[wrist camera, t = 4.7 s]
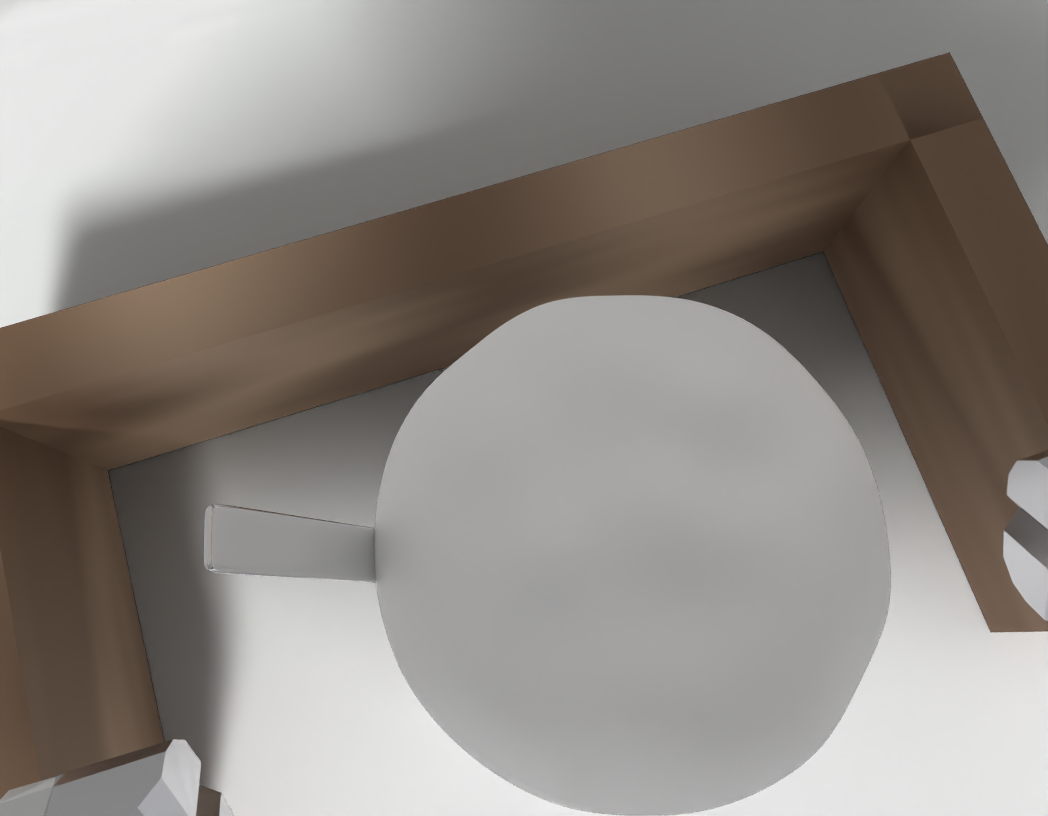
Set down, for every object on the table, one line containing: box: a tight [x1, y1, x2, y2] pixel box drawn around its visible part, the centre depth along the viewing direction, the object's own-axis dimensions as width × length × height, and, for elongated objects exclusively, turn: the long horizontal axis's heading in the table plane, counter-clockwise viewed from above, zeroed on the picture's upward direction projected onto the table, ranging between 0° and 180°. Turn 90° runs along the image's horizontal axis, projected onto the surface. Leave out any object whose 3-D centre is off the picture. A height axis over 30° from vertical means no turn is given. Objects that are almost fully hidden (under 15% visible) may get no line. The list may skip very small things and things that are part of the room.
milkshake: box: [204, 295, 891, 816], centre depth 11 cm, size 4×5×10 cm
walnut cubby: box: [0, 52, 1048, 799], centre depth 14 cm, size 16×9×4 cm, turn 108°
